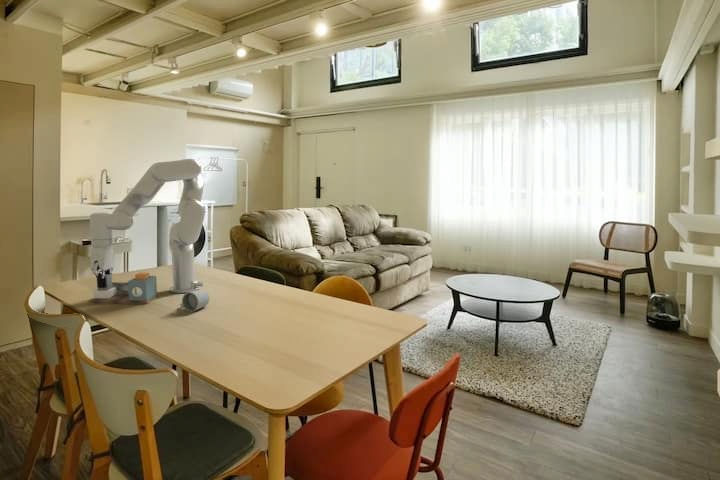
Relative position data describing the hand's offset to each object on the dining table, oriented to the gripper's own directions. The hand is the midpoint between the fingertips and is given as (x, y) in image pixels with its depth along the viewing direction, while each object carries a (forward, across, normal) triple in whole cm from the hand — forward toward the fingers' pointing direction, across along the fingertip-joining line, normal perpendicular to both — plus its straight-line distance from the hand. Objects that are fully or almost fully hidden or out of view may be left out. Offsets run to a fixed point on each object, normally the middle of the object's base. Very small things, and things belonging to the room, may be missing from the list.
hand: (105, 285), depth 178 cm
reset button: (-2, 0, +15) cm, 16 cm away
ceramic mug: (+7, +12, +40) cm, 42 cm away
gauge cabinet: (+5, 0, +15) cm, 16 cm away
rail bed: (+6, 0, +8) cm, 10 cm away
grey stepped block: (+4, 0, 0) cm, 4 cm away
